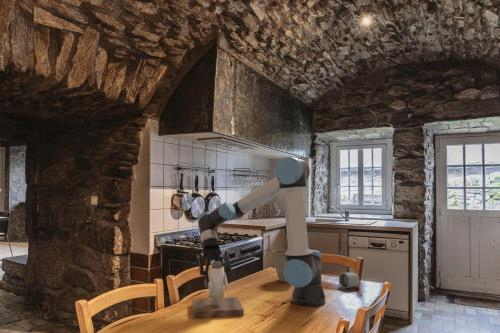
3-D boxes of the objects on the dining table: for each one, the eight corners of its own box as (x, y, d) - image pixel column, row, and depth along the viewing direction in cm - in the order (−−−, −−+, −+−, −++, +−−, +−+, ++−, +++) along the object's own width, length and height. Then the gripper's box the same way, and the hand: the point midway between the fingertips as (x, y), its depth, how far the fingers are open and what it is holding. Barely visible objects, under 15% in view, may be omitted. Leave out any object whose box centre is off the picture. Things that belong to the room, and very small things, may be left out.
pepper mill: (222, 293, 153) (223, 259, 154) (224, 298, 147) (224, 262, 148) (208, 294, 152) (209, 259, 153) (209, 298, 146) (210, 262, 147)
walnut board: (237, 302, 159) (237, 297, 159) (243, 315, 143) (243, 309, 143) (192, 305, 155) (192, 299, 155) (193, 318, 140) (193, 312, 140)
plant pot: (304, 283, 192) (303, 253, 193) (277, 285, 188) (277, 254, 189) (293, 276, 206) (293, 248, 207) (269, 278, 202) (269, 249, 203)
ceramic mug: (361, 288, 183) (360, 272, 184) (349, 290, 179) (348, 274, 180) (346, 283, 192) (346, 269, 193) (334, 285, 189) (334, 270, 189)
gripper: (228, 246, 168) (238, 290, 152) (188, 248, 162) (194, 295, 145) (231, 236, 164) (242, 281, 147) (190, 237, 157) (197, 285, 141)
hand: (219, 288), depth 146 cm, fingers closed on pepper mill, 6 cm apart
